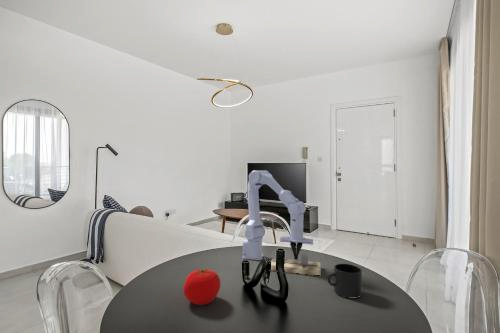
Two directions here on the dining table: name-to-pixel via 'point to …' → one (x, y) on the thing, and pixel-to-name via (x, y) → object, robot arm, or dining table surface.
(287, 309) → the dining table surface
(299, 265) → the board
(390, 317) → the dining table surface
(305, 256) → the fader tab
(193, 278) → the tomato
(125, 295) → the dining table surface
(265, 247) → the dining table surface
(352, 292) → the mug
